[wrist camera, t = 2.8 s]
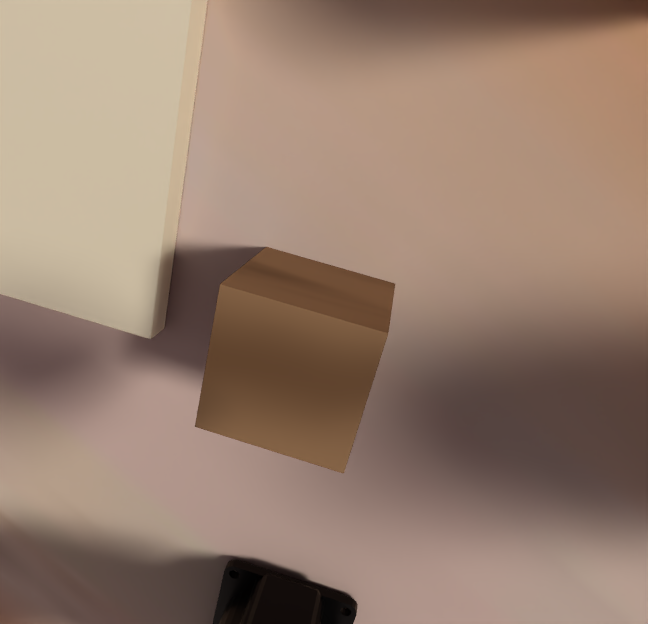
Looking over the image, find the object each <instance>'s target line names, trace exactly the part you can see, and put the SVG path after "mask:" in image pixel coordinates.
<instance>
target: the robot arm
mask: <svg viewBox="0 0 648 624" xmlns="http://www.w3.org/2000/svg"><path fill="white" fill-rule="evenodd" d="M236 571H237V572H236ZM356 613H357V603H356V601H355V600H354V599H352V598H350V597H348V596H345V595H342V594H339V593H336V592H333V591H330V590H327V589H324V588H321V587H318V586H315V585H312V584H309V583H306V582H303V581H300V580H297V579H294V578H291V577H288V576H285V575H282V574H279V573H276V572H272V571H269V570H266V569H263V568H260V567H257V566H254V565H251V564H248V563H245V562H242V561H239V560H231V561H229V562H228V564H227V566H226V569H225V571H224V575H223V580H222V584H221V589H220V593H219V598H218V602H217V607H216V611H215V615H214V620H213V624H353V622H354V620H355V617H356Z"/></svg>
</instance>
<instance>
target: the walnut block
mask: <svg viewBox="0 0 648 624" xmlns="http://www.w3.org/2000/svg"><path fill="white" fill-rule="evenodd" d="M394 288H395V284H394V283H391V282H387V281H384V280H380V279H377V278H373V277H370V276H366V275H363V274H359V273H356V272H352V271H349V270H345V269H342V268H338V267H335V266H331V265H328V264H324V263H321V262H317V261H314V260H311V259H307V258H304V257H300V256H297V255H293V254H290V253H286V252H283V251H279V250H276V249H272V248H269V247H266V248H264V249H263V250H262V251H261V252H259V253H258V254H257V255H256V256H254V257H253V258H252V259H251V260H250V261H248V262H247V263H246V264H245V265H243V266H242V267H241V268H240V269H238V270H237V271H236V272H235V273H233V274H232V275H231V276H230V277H228V278H227V279H226V280H225V281H223V282H222V283H221V284H220V287H219V293H218V298H217V304H216V310H215V315H214V321H213V327H212V333H211V338H210V344H209V350H208V355H207V361H206V367H205V372H204V378H203V384H202V389H201V395H200V401H199V406H198V412H197V418H196V423H195V427H198V428H201V429H204V430H207V431H210V432H214V433H217V434H220V435H223V436H226V437H229V438H233V439H236V440H239V441H242V442H245V443H249V444H252V445H255V446H258V447H261V448H264V449H268V450H271V451H274V452H277V453H280V454H283V455H287V456H290V457H293V458H296V459H299V460H302V461H306V462H309V463H312V464H315V465H318V466H321V467H325V468H328V469H331V470H334V471H337V472H341V473H344V471H345V468H346V465H347V461H348V458H349V455H350V452H351V449H352V446H353V443H354V439H355V436H356V433H357V430H358V427H359V424H360V421H361V417H362V414H363V411H364V408H365V405H366V402H367V399H368V395H369V392H370V389H371V386H372V383H373V380H374V377H375V373H376V370H377V367H378V364H379V361H380V358H381V355H382V351H383V348H384V345H385V342H386V339H387V336H388V332H389V324H390V317H391V310H392V303H393V296H394Z"/></svg>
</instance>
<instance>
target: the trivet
mask: <svg viewBox="0 0 648 624" xmlns="http://www.w3.org/2000/svg"><path fill="white" fill-rule="evenodd" d="M207 2H208V0H0V294H2V295H5V296H9V297H12V298H15V299H19V300H22V301H25V302H29V303H32V304H35V305H39V306H42V307H45V308H48V309H52V310H55V311H58V312H62V313H65V314H68V315H72V316H75V317H78V318H82V319H85V320H88V321H92V322H95V323H98V324H102V325H105V326H108V327H112V328H115V329H118V330H122V331H125V332H128V333H131V334H135V335H138V336H141V337H145V338H148V339H151V338H153V337H154V336H155V335H156V334H158V333H159V332H160V331H161V330H163V329H164V328H165V320H166V313H167V305H168V297H169V290H170V282H171V275H172V267H173V260H174V252H175V244H176V237H177V229H178V222H179V214H180V206H181V199H182V191H183V184H184V176H185V169H186V161H187V153H188V146H189V138H190V131H191V123H192V115H193V108H194V100H195V93H196V85H197V78H198V70H199V62H200V55H201V47H202V40H203V32H204V25H205V17H206V9H207Z"/></svg>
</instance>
